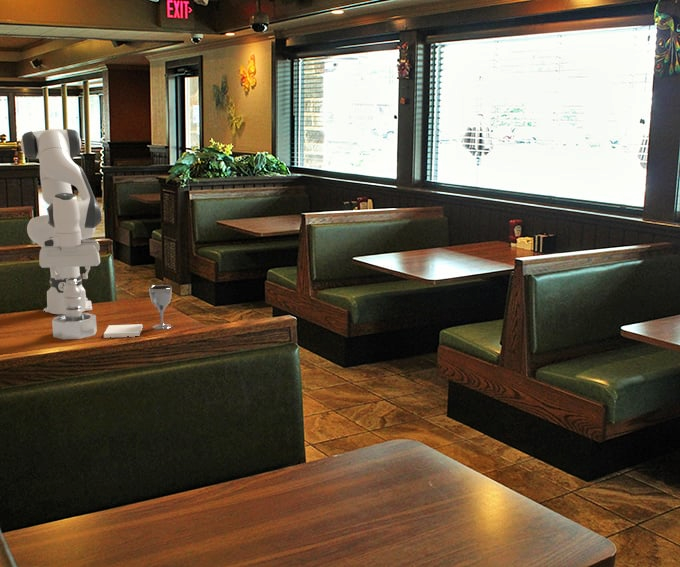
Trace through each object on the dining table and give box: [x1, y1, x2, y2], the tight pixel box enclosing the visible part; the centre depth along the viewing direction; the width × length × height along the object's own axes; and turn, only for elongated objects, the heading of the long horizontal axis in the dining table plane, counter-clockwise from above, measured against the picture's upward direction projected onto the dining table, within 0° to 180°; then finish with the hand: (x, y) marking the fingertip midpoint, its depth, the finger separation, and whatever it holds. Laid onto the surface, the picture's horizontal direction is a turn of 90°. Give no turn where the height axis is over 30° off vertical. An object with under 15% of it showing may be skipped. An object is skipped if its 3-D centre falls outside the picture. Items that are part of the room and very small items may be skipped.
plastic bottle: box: [63, 278, 83, 322], centre depth 280 cm, size 6×7×20 cm
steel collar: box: [51, 312, 98, 340], centre depth 282 cm, size 14×14×6 cm
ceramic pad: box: [103, 323, 143, 339], centre depth 283 cm, size 12×12×2 cm
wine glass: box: [148, 284, 173, 330], centre depth 291 cm, size 8×8×15 cm
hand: (71, 279), depth 278 cm, fingers open, 8 cm apart
